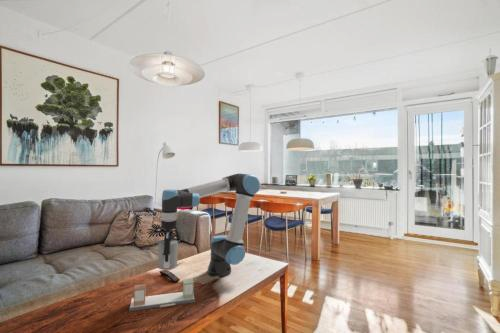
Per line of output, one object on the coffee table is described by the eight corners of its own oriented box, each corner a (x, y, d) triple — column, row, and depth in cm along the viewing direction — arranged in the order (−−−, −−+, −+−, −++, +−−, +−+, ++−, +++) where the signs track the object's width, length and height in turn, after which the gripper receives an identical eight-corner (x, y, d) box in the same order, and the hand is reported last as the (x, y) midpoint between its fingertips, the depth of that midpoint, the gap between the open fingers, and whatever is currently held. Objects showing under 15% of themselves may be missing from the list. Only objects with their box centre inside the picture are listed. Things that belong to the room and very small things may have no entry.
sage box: (192, 293, 137) (192, 278, 136) (193, 297, 133) (193, 282, 132) (182, 295, 135) (183, 279, 135) (183, 299, 131) (183, 283, 131)
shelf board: (192, 292, 140) (192, 288, 140) (195, 304, 129) (195, 299, 129) (132, 300, 131) (132, 295, 131) (128, 314, 120) (128, 308, 119)
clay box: (145, 300, 129) (145, 284, 129) (144, 304, 126) (145, 288, 125) (134, 301, 128) (134, 285, 128) (133, 305, 124) (133, 289, 124)
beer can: (180, 263, 136) (181, 240, 136) (169, 270, 127) (170, 245, 127) (165, 261, 139) (166, 238, 139) (153, 267, 130) (154, 243, 130)
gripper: (164, 215, 143) (162, 256, 143) (158, 225, 121) (156, 273, 122) (178, 215, 145) (176, 255, 145) (174, 225, 123) (173, 272, 123)
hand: (167, 263), depth 133 cm, fingers closed on beer can, 9 cm apart
